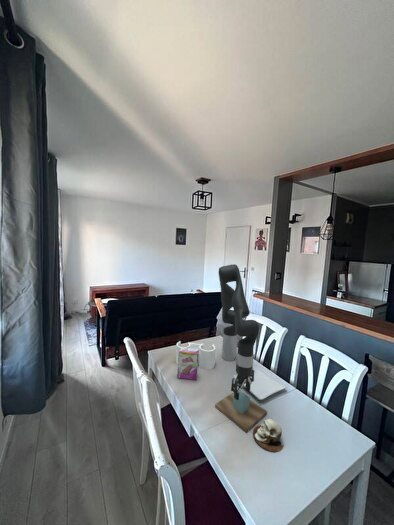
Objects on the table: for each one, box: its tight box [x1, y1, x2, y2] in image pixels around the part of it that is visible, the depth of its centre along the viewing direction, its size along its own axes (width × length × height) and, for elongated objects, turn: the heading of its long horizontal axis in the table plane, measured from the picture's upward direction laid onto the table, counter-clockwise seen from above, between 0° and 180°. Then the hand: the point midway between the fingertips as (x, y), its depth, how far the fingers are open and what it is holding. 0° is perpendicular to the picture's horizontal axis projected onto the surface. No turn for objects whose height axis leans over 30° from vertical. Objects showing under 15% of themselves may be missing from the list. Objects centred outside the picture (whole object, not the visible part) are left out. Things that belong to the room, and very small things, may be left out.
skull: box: [252, 418, 285, 453], centre depth 90 cm, size 12×10×10 cm
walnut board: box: [214, 391, 268, 433], centre depth 104 cm, size 16×18×2 cm
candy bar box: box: [177, 348, 199, 381], centre depth 127 cm, size 11×5×16 cm, turn 84°
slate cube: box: [233, 390, 251, 414], centre depth 104 cm, size 6×6×6 cm
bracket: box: [175, 340, 216, 371], centre depth 141 cm, size 25×10×12 cm, turn 82°
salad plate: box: [232, 366, 288, 401], centre depth 123 cm, size 21×21×3 cm
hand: (242, 394), depth 103 cm, fingers open, 8 cm apart
